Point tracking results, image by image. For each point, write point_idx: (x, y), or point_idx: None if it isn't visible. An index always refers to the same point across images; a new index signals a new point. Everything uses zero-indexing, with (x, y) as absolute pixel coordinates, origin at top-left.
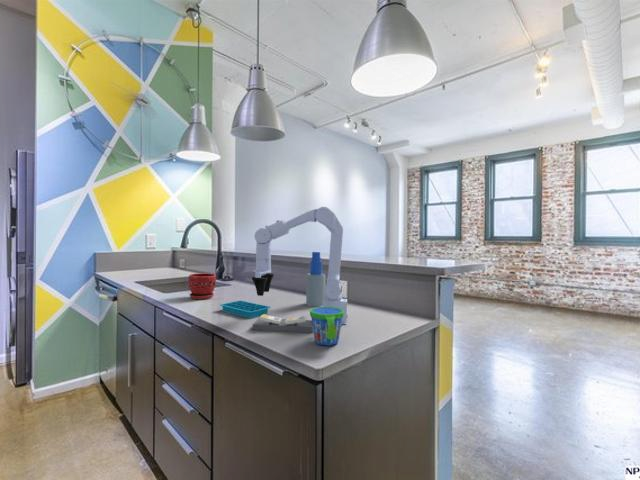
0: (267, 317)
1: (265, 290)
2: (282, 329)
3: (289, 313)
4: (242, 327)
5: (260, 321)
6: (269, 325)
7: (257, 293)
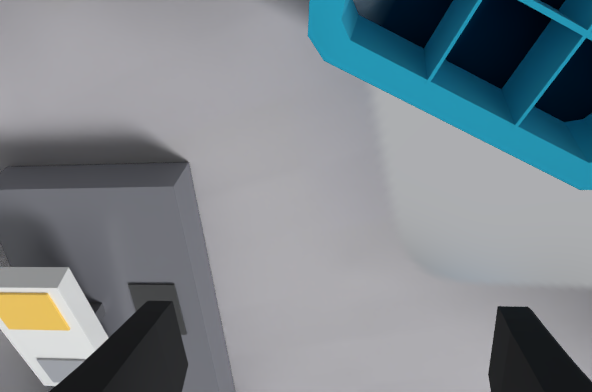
0: (15, 327)
1: (497, 356)
2: None
3: (569, 320)
4: (22, 60)
5: (77, 227)
6: None
7: (126, 326)
